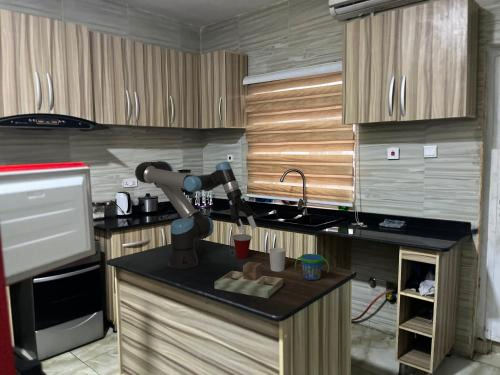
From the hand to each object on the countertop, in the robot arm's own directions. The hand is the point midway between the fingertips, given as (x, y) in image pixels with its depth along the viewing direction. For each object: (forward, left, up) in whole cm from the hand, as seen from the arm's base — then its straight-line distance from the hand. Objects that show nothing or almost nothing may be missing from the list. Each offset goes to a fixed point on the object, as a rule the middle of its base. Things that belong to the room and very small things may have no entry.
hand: (248, 230), depth 189 cm
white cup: (+14, +3, -19) cm, 24 cm away
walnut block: (+12, -21, -16) cm, 29 cm away
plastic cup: (-11, +14, -19) cm, 26 cm away
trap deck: (+12, -24, -19) cm, 33 cm away
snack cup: (+33, -2, -19) cm, 38 cm away
